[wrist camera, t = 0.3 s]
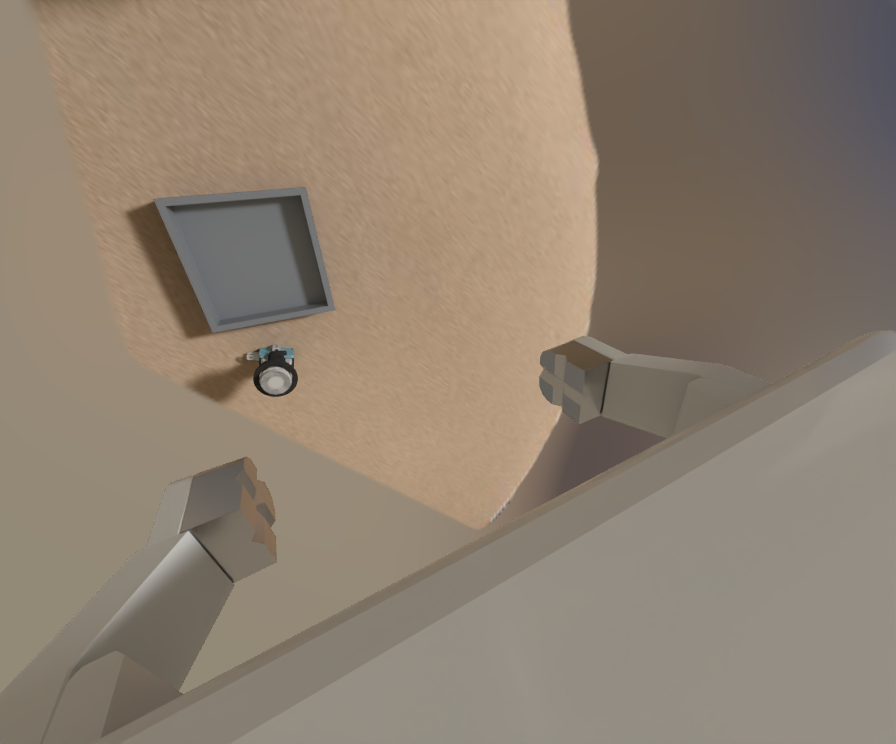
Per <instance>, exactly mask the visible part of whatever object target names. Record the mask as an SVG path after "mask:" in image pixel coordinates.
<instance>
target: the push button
mask: <svg viewBox="0 0 896 744" xmlns="http://www.w3.org/2000/svg"><path fill="white" fill-rule="evenodd" d="M275 346H278V347H275ZM280 347H281V345H273V347H272V348H260V351H259V352H255V353H247V360H255V361H259V364H260V366H259V367H258V368H257V369H256V371H255V373H254V378H253V380H254V384H255V386H256V388H257V389H258V390H259V391H260V392H261V393H263V394H265V395H268V396H273V397H278V396H283V395H286V394H288V393H290V392H291V391H292V390H293V389H294V388H295V387H296V385H297V381H298V376H297V373H296V370H295V369H294V349H292V348H289V349H285V348H280ZM250 354H252V355H250ZM250 358H252V359H250ZM261 371H262V374H261V375H260V373H261ZM290 372H291V373H292V376H293V377H292V376H291V375H290ZM259 375H260V377H259Z"/></svg>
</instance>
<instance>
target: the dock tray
mask: <svg viewBox="0 0 896 744" xmlns="http://www.w3.org/2000/svg"><path fill="white" fill-rule="evenodd" d="M153 200H154V202H155V204H156V206H157V209H158V211H159V213H160V215H161V218H162V220H163V222H164V224H165V227H166V229H167V231H168V233H169V236H170V238H171V240H172V242H173V245H174V247H175V249H176V251H177V254H178V256H179V258H180V260H181V263H182V265H183V267H184V269H185V272H186V274H187V276H188V278H189V281H190V283H191V285H192V287H193V290H194V292H195V294H196V296H197V299H198V301H199V303H200V305H201V308H202V310H203V312H204V314H205V317H206V319H207V321H208V323H209V326H210V328H211V330H212V333H215V332H221V331H226V330H231V329H237V328H242V327H247V326H253V325H258V324H263V323H269V322H274V321H279V320H285V319H290V318H295V317H301V316H306V315H311V314H317V313H322V312H327V311H333V310H335V307H334V303H333V299H332V295H331V291H330V287H329V283H328V278H327V274H326V270H325V266H324V262H323V258H322V253H321V249H320V245H319V241H318V237H317V233H316V229H315V224H314V220H313V216H312V212H311V208H310V204H309V200H308V195H307V191H306V187H302V188H289V189H276V190H263V191H250V192H237V193H224V194H211V195H198V196H185V197H172V198H159V199H153Z"/></svg>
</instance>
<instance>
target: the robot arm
mask: <svg viewBox="0 0 896 744" xmlns="http://www.w3.org/2000/svg"><path fill="white" fill-rule="evenodd" d="M540 365H541V366H542V367H543V371H542V373H541V375H540V377H539V386H540V389H541V391H542V394H543V395H544V397H545V398H546V399H547V400H548V401H549V402H550V403H551V404H554V405H558V406H561V407H562V412H563V413H565V414H566V415H567V416H568V417H570V418H571V419H572V420H574V421H575V422H576V423H577V424H581V423H583V422H585V421H587V420H590V419H592V418H595V417H597V416H600V415H602V416H603V417H606V418H609V419H612V420H615V421H618V422H621V423H624V424H627V425H630V426H633V427H636V428H639V429H642V430H645V431H648V432H651V433H654V434H657V435H660V436H663V437H666V438H668V439H666V440H664V441H662V442H660V443H658V444H656V445H654V446H652V447H651V448H649V449H647V450H645V451H643V452H641V453H640V454H637V455H636V456H634V457H632V458H630V459H628V460H626V461H624V462H622V463H621V464H618V465H617V466H615V467H613V468H611V469H609V470H607V471H605V472H603V473H602V474H600V475H598V476H596V477H594V478H592V479H590V480H588V481H586V482H585V483H583V484H581V485H579V486H577V487H575V488H573V489H571V490H569V491H568V492H566V493H564V494H562V495H560V496H558V497H556V498H554V499H553V500H550V501H549V502H547V503H545V504H543V505H541V506H539V507H538V508H535V509H533V510H532V511H530V512H528V513H526V514H524V515H522V516H521V517H518V518H516V519H514V520H513V521H511V522H509V523H507V524H505V525H503V526H501V527H499V528H497V529H496V530H494V531H492V532H490V533H488V534H486V535H484V536H482V537H480V538H479V539H477V540H475V541H473V542H471V543H469V544H467V545H465V546H463V547H461V548H460V549H458V550H456V551H454V552H452V553H450V554H448V555H446V556H445V557H442V558H441V559H439V560H437V561H435V562H433V563H431V564H430V565H428V566H426V567H424V568H422V569H420V570H418V571H416V572H414V573H412V574H410V575H408V576H407V577H405V578H403V579H401V580H399V581H397V582H395V583H393V584H391V585H390V586H388V587H386V588H384V589H382V590H380V591H378V592H376V593H374V594H372V595H371V596H369V597H367V598H365V599H363V600H361V601H359V602H358V603H356V604H354V605H352V606H350V607H348V608H346V609H344V610H342V611H340V612H338V613H337V614H335V615H333V616H331V617H329V618H327V619H325V620H323V621H321V622H320V623H318V624H316V625H314V626H312V627H310V628H308V629H306V630H305V631H303V632H301V633H299V634H297V635H295V636H293V637H291V638H289V639H287V640H285V641H284V642H282V643H280V644H278V645H276V646H274V647H272V648H270V649H269V650H267V651H265V652H263V653H261V654H259V655H257V656H255V657H253V658H251V659H250V660H248V661H246V662H244V663H242V664H240V665H238V666H236V667H234V668H233V669H231V670H229V671H227V672H225V673H223V674H221V675H219V676H217V677H215V678H214V679H212V680H210V681H208V682H206V683H204V684H202V685H201V686H198V687H197V688H195V689H193V690H191V691H189V692H187V693H185V694H182V693H181V692H179V690H180V688H181V686H182V684H183V682H184V680H185V678H186V676H187V674H188V672H189V670H190V669H191V667H192V665H193V663H194V661H195V659H196V657H197V655H198V654H199V651H200V650H201V648H202V646H203V644H204V642H205V640H206V638H207V636H208V635H209V633H210V631H211V629H212V627H213V625H214V623H215V621H216V619H217V617H218V616H219V614H220V612H221V610H222V608H223V606H224V604H225V602H226V600H227V598H228V597H229V595H230V593H231V591H232V589H233V587H234V584H233V583H235V582H237V581H239V580H241V579H243V578H245V577H247V576H249V575H251V574H253V573H256V572H257V571H260V570H261V569H264V568H266V567H268V566H270V565H272V564H274V563H276V561H277V558H276V536H275V534H274V532H273V531H272V529H271V527H272V525H273V523H274V522H275V509H274V505H273V500H272V497H271V494H270V492H269V489H268V488H267V486H266V484H265V482H263V481H260V480H257V468H256V467H255V465H254V464H253V462H252V460H251V459H250V458H248V457H244V458H242V459H238V460H236V461H233V462H229V463H226V464H223V465H221V466H218V467H215V468H212V469H209V470H206V471H203V472H200V473H197V474H194V475H191V476H188V477H185V478H183V479H180V480H177V481H174V482H171V483H170V484H169V485H168V486H166V488H165V491H164V494H163V497H162V500H161V503H160V507H159V509H158V512H157V515H156V518H155V521H154V524H153V527H152V530H151V533H150V537H149V540H148V542H147V546H146V548H143V549H141V550H138V551H137V552H135V553H134V554H133V555H132V557H131V558H130V559H129V560H128V561H127V562H126V563H125V564H124V565H123V566H122V567H121V568H120V569H119V570H118V571H117V572H116V573H115V574H114V575H113V576H112V577H111V578H110V579H109V580H108V582H107V583H106V584H105V585H104V586H103V587H102V588H101V589H100V590H99V591H98V592H97V593H96V594H95V595H94V596H93V597H92V598H91V599H90V600H89V601H88V603H86V605H85V606H84V607H83V608H82V609H81V610H80V611H79V612H78V613H77V614H76V615H75V616H74V617H73V618H72V619H71V620H70V621H69V622H68V623H67V624H66V626H64V628H63V629H62V630H61V631H60V632H59V633H58V634H57V635H56V636H55V637H54V638H53V639H52V640H51V641H50V642H49V643H48V644H47V645H46V646H45V647H44V648H43V649H42V651H41V652H40V653H39V654H38V655H37V656H36V657H35V658H34V659H33V660H32V661H31V662H30V663H29V664H28V665H27V666H26V667H25V668H24V669H23V670H22V671H21V673H20V674H19V675H18V676H17V677H16V678H15V679H14V680H13V681H12V682H11V683H10V684H9V685H8V686H7V687H6V688H5V689H4V690H3V691H2V692H1V693H0V744H896V331H877V332H872V333H869V334H865V335H863V336H861V337H858V338H856V339H855V340H853V341H851V342H849V343H847V344H845V345H843V346H841V347H840V348H838V349H836V350H834V351H832V352H830V353H828V354H826V355H825V356H823V357H821V358H819V359H817V360H815V361H814V362H812V363H810V364H808V365H806V366H804V367H802V368H800V369H798V370H796V371H795V372H793V373H791V374H789V375H787V376H785V377H783V378H781V379H779V380H777V381H776V382H774V383H772V384H771V383H769V382H767V381H764V380H761V379H759V378H756V377H754V376H751V375H749V374H746V373H744V372H741V371H739V370H736V369H734V368H731V367H729V366H726V365H721V364H714V363H706V362H698V361H689V360H681V359H673V358H665V357H657V356H648V355H640V354H629V355H627V354H625V353H623V352H621V351H619V350H616V349H614V348H612V347H610V346H608V345H606V344H604V343H602V342H600V341H597V340H595V339H593V338H591V337H589V336H582V337H579V338H576V339H574V340H571V341H569V342H567V343H565V344H562V345H559V346H557V347H554V348H551V349H548V350H546V351H543V352H542V354H541V357H540Z"/></svg>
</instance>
